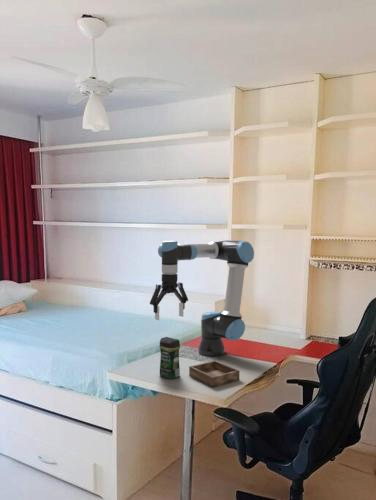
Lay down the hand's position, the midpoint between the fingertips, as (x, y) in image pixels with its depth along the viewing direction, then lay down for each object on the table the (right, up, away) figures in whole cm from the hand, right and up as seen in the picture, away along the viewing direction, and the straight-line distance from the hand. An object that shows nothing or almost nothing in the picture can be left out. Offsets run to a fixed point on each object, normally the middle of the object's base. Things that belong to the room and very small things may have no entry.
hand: (169, 317), depth 193 cm
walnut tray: (+21, -28, -1) cm, 35 cm away
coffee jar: (0, -28, +2) cm, 29 cm away
